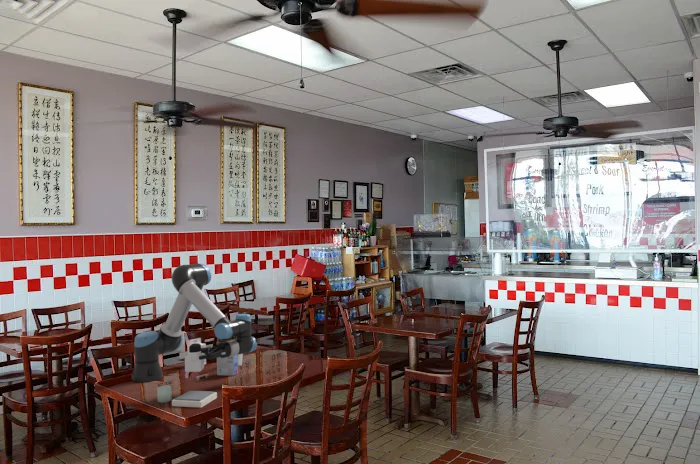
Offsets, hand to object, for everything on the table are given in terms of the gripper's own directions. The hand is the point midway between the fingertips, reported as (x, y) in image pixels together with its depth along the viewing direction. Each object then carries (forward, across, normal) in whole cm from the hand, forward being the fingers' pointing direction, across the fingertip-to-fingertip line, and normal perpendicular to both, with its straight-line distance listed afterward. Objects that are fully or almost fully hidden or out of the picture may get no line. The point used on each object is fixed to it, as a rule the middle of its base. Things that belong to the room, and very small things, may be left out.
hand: (185, 357), depth 249 cm
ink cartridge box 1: (-35, +50, -18) cm, 64 cm away
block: (+10, +2, -18) cm, 20 cm away
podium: (+2, -11, -18) cm, 21 cm away
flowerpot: (-58, +52, -18) cm, 79 cm away
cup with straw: (-50, +32, -18) cm, 62 cm away
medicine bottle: (-4, 0, -7) cm, 8 cm away
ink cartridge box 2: (-34, +18, -18) cm, 43 cm away
